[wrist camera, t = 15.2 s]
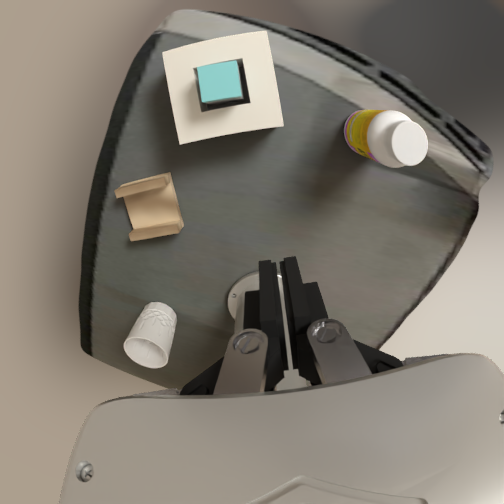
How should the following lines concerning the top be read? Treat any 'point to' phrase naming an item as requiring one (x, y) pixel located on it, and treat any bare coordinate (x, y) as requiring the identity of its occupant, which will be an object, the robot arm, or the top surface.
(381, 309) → the top surface
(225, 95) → the plug
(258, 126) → the port block
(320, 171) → the top surface
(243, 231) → the top surface
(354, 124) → the supplement bottle
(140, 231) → the cradle
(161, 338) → the white cup
